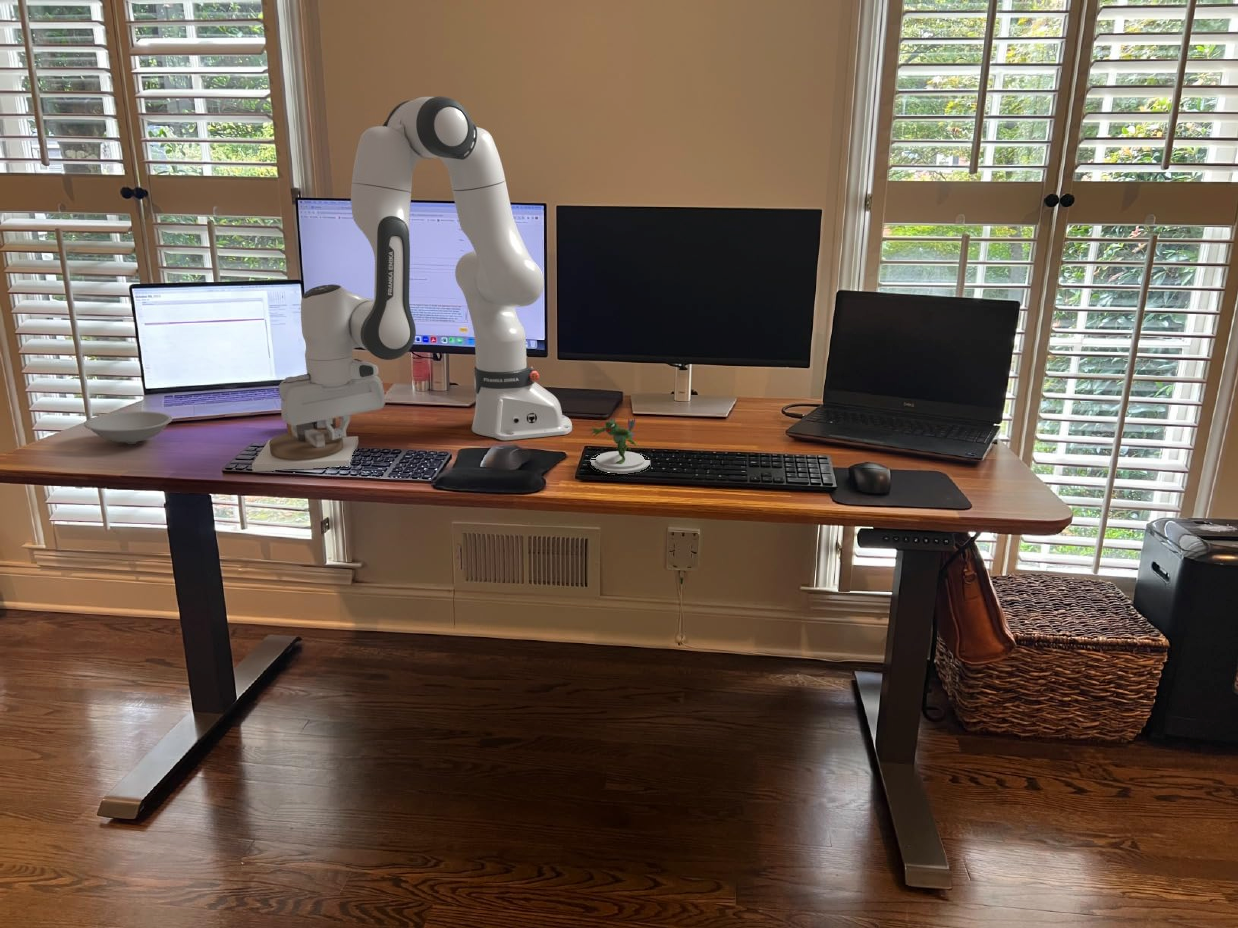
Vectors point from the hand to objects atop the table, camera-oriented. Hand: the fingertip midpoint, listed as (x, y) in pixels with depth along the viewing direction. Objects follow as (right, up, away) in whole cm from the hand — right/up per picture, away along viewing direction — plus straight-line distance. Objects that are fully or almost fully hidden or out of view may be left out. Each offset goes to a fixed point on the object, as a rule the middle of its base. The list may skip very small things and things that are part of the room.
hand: (337, 438), depth 176 cm
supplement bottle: (-10, +2, +21) cm, 23 cm away
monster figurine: (+57, -6, 0) cm, 57 cm away
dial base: (-7, -4, +3) cm, 8 cm away
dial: (-7, -2, +2) cm, 7 cm away
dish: (-47, -1, +10) cm, 48 cm away
